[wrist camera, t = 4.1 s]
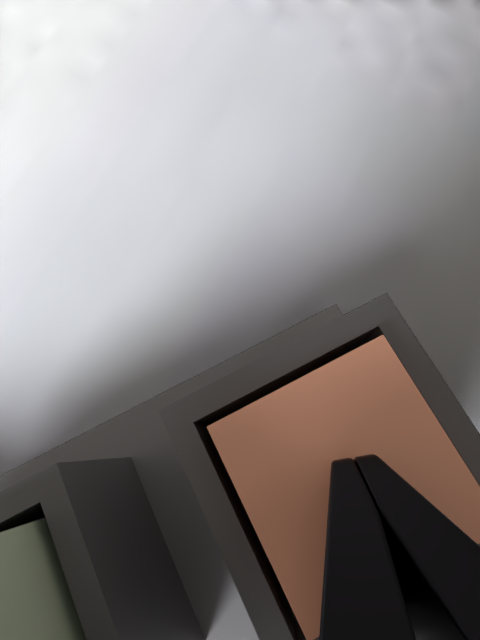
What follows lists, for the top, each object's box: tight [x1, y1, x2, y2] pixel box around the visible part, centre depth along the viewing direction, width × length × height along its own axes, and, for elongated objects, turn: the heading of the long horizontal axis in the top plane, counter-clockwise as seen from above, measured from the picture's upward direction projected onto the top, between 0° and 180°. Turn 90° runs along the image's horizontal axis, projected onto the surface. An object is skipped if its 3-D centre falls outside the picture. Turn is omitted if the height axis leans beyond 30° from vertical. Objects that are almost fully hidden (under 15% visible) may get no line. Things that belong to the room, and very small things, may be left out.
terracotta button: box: [207, 335, 480, 640], centre depth 11 cm, size 4×4×5 cm
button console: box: [0, 293, 480, 640], centre depth 12 cm, size 9×24×6 cm, turn 117°
